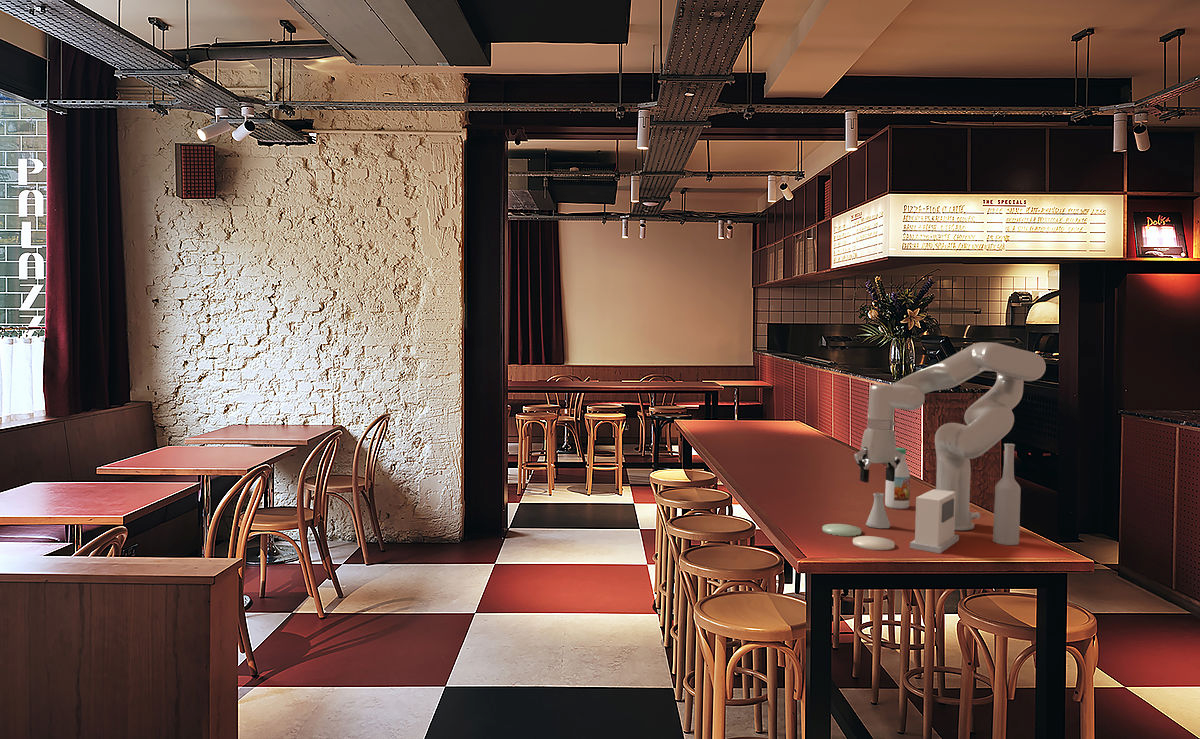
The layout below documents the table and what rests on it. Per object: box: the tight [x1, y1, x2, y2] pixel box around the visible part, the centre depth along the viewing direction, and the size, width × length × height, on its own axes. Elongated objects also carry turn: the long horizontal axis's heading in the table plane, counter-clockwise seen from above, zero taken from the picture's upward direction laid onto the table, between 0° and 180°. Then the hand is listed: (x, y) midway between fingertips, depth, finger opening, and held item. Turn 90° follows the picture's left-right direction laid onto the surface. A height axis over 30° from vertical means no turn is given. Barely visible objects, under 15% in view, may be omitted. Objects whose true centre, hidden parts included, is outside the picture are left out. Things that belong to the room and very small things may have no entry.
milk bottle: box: [884, 447, 911, 510], centre depth 271 cm, size 8×8×20 cm
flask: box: [865, 492, 891, 529], centre depth 244 cm, size 7×7×10 cm
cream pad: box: [852, 535, 895, 551], centre depth 223 cm, size 11×11×1 cm
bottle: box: [992, 443, 1022, 546], centre depth 226 cm, size 7×7×28 cm
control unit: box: [909, 488, 960, 554], centre depth 224 cm, size 8×18×14 cm, turn 141°
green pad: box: [821, 523, 862, 537], centre depth 237 cm, size 11×11×1 cm
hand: (877, 481), depth 244 cm, fingers open, 9 cm apart
